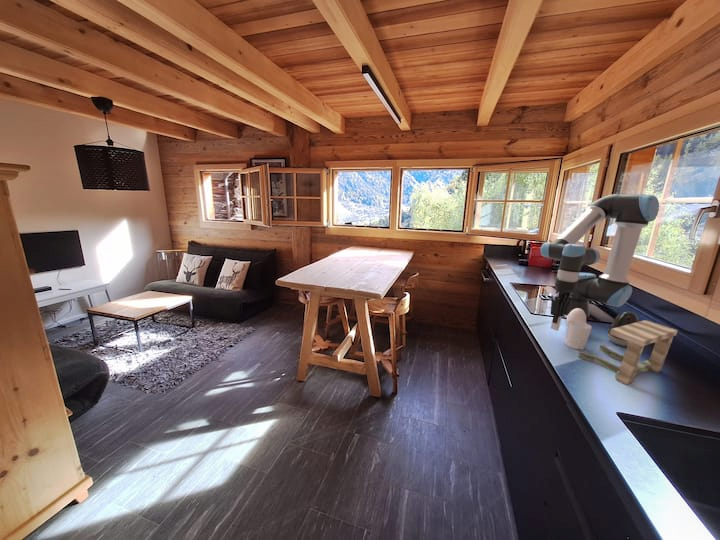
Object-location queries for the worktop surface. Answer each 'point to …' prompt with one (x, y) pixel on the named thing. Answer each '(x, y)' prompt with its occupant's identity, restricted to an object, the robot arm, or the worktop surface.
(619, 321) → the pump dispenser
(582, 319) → the egg
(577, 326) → the white cup
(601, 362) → the wooden slatted bench
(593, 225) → the robot arm
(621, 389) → the worktop surface
